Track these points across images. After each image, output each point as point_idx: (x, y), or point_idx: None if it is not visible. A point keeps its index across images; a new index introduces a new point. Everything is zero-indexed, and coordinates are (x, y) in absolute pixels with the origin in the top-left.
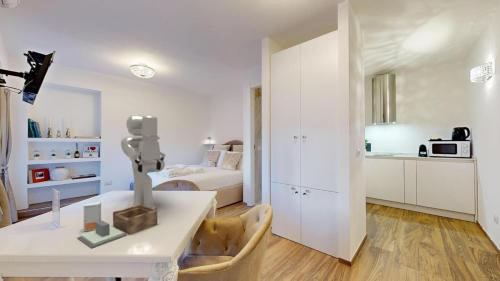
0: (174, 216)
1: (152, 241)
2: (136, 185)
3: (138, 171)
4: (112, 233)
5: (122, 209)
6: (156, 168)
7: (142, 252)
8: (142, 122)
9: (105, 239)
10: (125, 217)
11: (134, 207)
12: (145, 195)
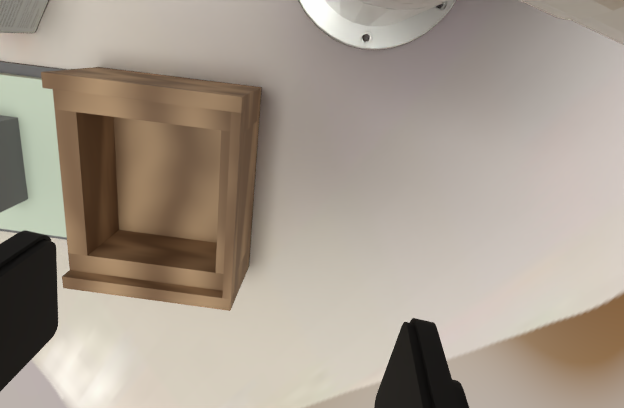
0: (376, 261)
1: (136, 370)
2: None
3: (27, 232)
4: (41, 200)
5: (107, 80)
6: (407, 329)
7: (76, 396)
8: None
9: (2, 228)
10: (78, 210)
11: (191, 106)
12: (353, 12)
